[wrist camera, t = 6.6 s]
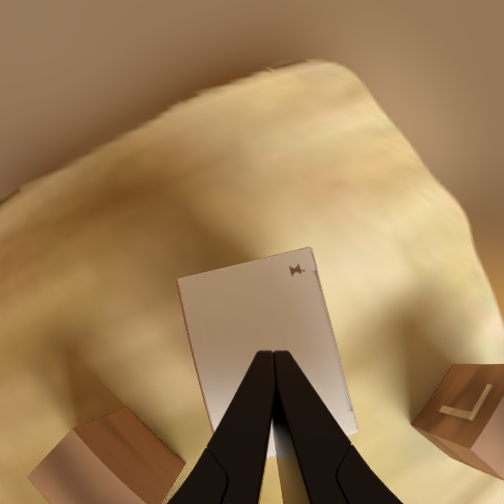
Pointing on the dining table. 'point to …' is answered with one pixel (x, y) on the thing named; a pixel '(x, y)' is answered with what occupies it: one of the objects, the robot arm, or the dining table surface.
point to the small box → (262, 329)
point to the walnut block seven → (468, 417)
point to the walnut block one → (108, 464)
